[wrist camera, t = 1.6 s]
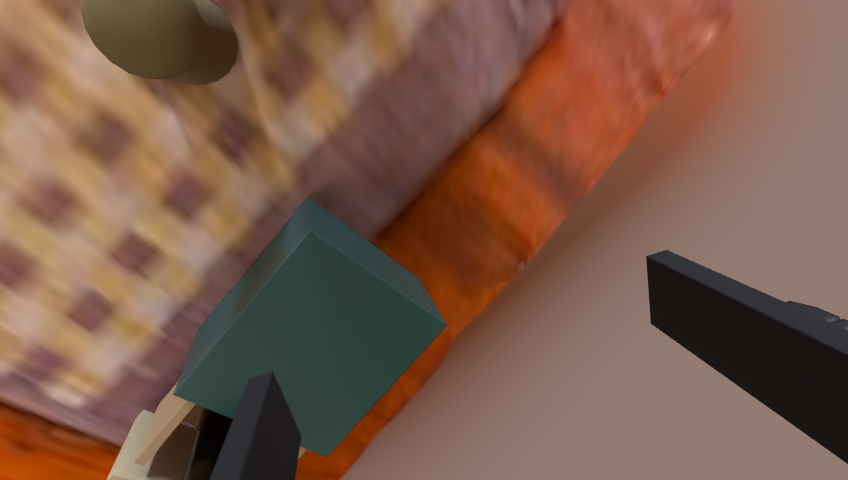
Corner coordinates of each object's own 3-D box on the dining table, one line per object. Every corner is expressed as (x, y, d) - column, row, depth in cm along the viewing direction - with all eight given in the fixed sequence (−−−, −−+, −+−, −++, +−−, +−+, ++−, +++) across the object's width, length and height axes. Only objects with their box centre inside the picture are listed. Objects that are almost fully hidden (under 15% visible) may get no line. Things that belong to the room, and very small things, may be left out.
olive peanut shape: (247, 79, 31) (223, 80, 21) (160, 90, 30) (91, 97, 20) (222, -14, 28) (181, -62, 19) (126, -6, 27) (28, -53, 17)
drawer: (231, 489, 43) (220, 557, 37) (109, 450, 38) (72, 522, 32) (344, 362, 41) (352, 411, 35) (232, 301, 36) (219, 347, 30)
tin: (190, 418, 38) (143, 563, 26) (225, 376, 37) (193, 506, 26) (241, 438, 40) (219, 579, 29) (275, 399, 39) (266, 528, 28)
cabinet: (322, 389, 43) (326, 457, 35) (198, 328, 37) (172, 395, 29) (420, 278, 41) (447, 325, 33) (307, 196, 35) (310, 230, 28)
